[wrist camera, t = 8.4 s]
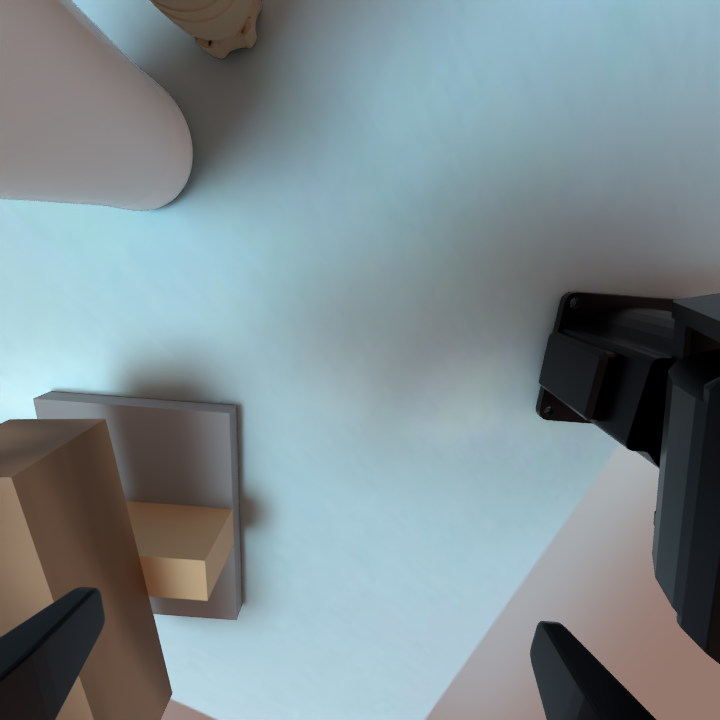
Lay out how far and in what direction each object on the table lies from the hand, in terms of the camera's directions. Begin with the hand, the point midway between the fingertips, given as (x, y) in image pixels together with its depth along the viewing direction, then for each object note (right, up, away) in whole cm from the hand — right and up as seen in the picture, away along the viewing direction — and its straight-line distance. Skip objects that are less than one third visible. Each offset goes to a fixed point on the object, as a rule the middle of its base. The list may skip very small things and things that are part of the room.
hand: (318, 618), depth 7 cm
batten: (-11, -5, +9) cm, 15 cm away
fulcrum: (-11, -3, +14) cm, 18 cm away
